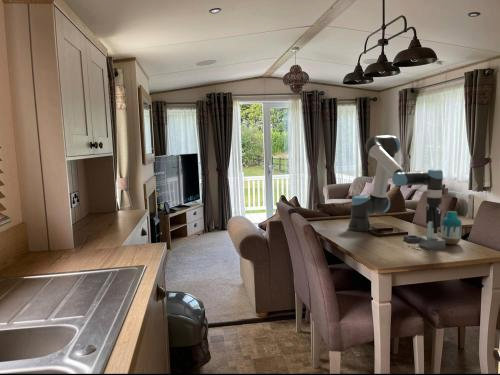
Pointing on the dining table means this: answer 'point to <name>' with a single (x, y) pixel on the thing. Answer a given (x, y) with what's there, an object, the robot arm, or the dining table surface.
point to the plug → (430, 231)
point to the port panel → (432, 243)
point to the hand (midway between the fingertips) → (432, 237)
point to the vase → (451, 228)
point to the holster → (411, 238)
